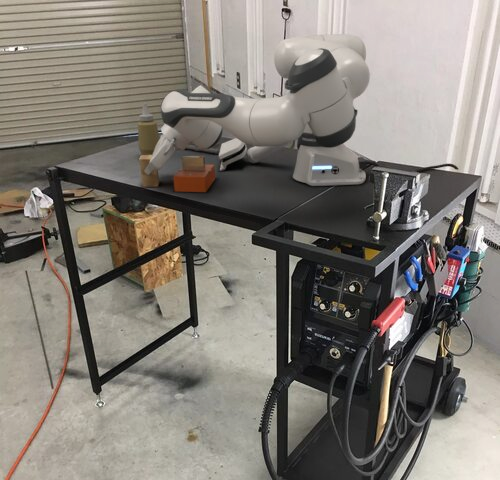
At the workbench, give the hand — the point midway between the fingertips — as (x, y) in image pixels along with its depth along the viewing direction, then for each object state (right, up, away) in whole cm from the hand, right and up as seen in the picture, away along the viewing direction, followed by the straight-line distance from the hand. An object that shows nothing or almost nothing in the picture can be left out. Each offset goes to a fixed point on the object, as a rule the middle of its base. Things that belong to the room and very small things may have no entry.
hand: (147, 169), depth 163 cm
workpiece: (+1, -4, +2) cm, 5 cm away
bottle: (+32, +10, +19) cm, 38 cm away
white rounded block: (+21, +11, +17) cm, 29 cm away
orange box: (+15, -4, +1) cm, 15 cm away
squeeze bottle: (-4, +13, +30) cm, 33 cm away
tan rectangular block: (+14, -1, -2) cm, 15 cm away
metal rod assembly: (+10, +18, +37) cm, 42 cm away
